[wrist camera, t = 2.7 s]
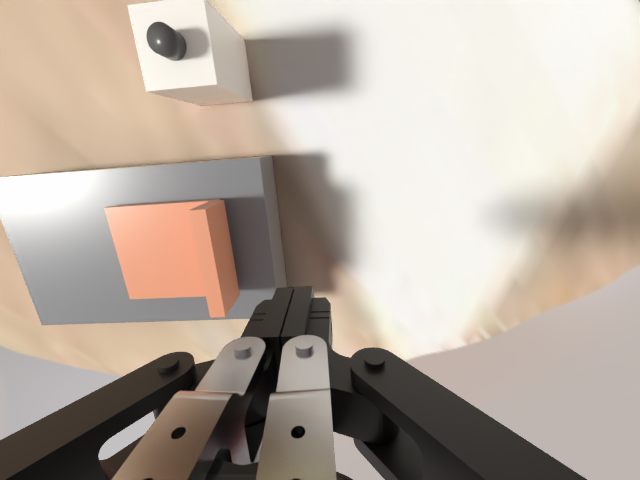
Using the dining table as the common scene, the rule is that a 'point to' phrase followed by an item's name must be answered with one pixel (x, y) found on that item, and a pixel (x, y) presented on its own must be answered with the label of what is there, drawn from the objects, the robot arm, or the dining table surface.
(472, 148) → the dining table surface
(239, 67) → the plug
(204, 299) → the socket block
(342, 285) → the dining table surface
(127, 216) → the shutter
